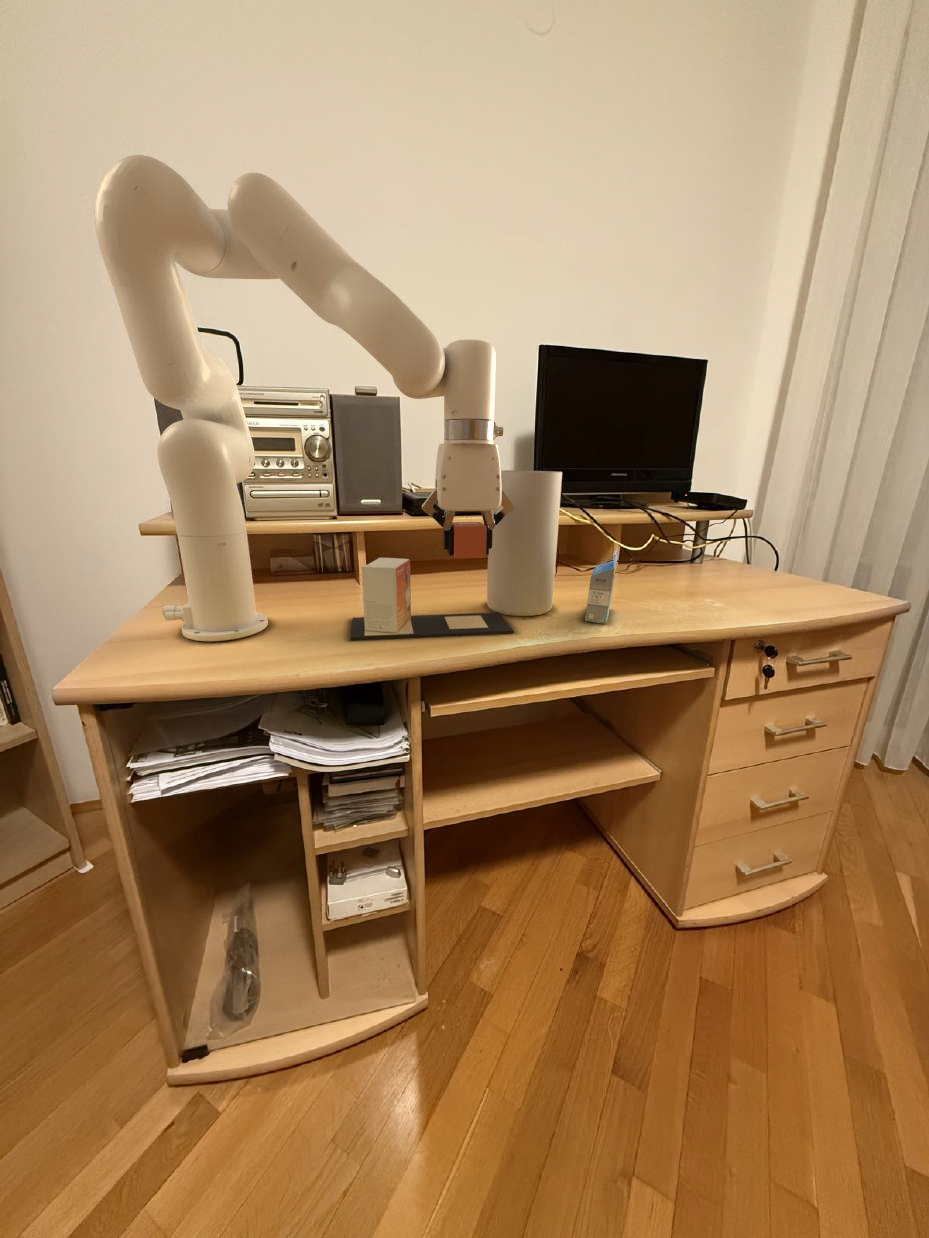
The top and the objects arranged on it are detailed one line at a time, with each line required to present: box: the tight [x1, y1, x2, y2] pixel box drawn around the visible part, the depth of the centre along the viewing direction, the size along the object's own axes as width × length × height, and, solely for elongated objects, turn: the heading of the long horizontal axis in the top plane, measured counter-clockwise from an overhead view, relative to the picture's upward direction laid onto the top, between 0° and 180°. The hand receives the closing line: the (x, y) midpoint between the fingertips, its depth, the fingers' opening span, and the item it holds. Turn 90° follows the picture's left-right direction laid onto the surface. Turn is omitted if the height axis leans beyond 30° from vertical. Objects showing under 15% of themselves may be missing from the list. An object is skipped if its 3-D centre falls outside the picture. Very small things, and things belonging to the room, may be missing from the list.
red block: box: [451, 521, 487, 559], centre depth 79 cm, size 5×5×5 cm
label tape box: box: [584, 546, 619, 625], centre depth 87 cm, size 9×4×12 cm, turn 161°
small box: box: [361, 557, 412, 633], centre depth 79 cm, size 8×6×10 cm
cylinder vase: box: [486, 469, 563, 617], centre depth 90 cm, size 12×12×25 cm
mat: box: [349, 611, 514, 641], centre depth 82 cm, size 26×10×1 cm, turn 100°
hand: (467, 552), depth 79 cm, fingers closed on red block, 5 cm apart
